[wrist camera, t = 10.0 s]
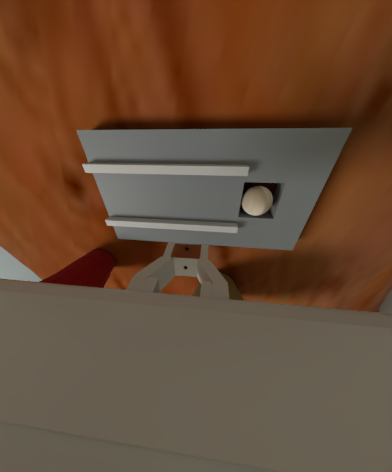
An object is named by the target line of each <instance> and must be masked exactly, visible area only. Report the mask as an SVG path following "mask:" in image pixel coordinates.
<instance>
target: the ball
mask: <svg viewBox="0 0 392 472" xmlns="http://www.w3.org/2000/svg"><path fill="white" fill-rule="evenodd" d="M272 202H273V196H272V194H271V192H270V191H269V190H268V189H267V188H266V187H263V186H254V187H251V188H249V189H248V190H247V191H246V192H245V193H244V195H243V197H242V207H243V209H244V210H245V212H247V213H248V214H250V215H254V216H257V215H262V214H264V213H266V212H267V211H268V210H269V209H270V207H271V206H272Z"/></svg>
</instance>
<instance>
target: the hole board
mask: <svg viewBox="0 0 392 472" xmlns="http://www.w3.org/2000/svg"><path fill="white" fill-rule="evenodd" d="M351 130H352V128H262V129H150V130H76V131H77V133H78V136H79V139H80V141H81V144H82V146H83V149H84V152H85V154H86V157H87V159H88V162H89V163H85V164H82V165H83V168H84V170H85V173H93V175H94V178H95V180H96V183H97V185H98V188H99V191H100V193H101V196H102V198H103V201H104V204H105V206H106V209H107V211H108V214H109V217H108V218H107V219H106V220H105V221H106V224H107V226H113V227H114V230H115V232H116V235H117V237H118V239H129V240H144V241H159V242H174V243H189V244H208V245H219V246H234V247H249V248H264V249H279V250H293V248H294V246H295V244H296V242H297V240H298V238H299V236H300V234H301V232H302V230H303V228H304V226H305V224H306V222H307V220H308V218H309V216H310V214H311V212H312V210H313V208H314V206H315V203H316V201H317V199H318V197H319V195H320V193H321V191H322V189H323V187H324V185H325V183H326V181H327V179H328V177H329V175H330V173H331V171H332V169H333V167H334V165H335V163H336V161H337V159H338V157H339V155H340V152H341V150H342V148H343V146H344V144H345V142H346V140H347V138H348V136H349V134H350V132H351ZM244 182H256V183H277V186H276V189H275V192H274V195H273V202H272V206H271V207H270V209H269V211H267V212H266V213H264V214H262V215H257V216H254V215H250V214H248V213H247V212H245V210H239V209H240V204H241V198H242V193H243V187H244Z"/></svg>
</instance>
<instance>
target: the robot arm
mask: <svg viewBox="0 0 392 472" xmlns="http://www.w3.org/2000/svg"><path fill="white" fill-rule="evenodd" d="M175 275H177V276H191V277H197V278H198V280H199V282H200V283H201V290H200V297H198V296H187V295H176V294H165V293H161V290H162V289H163V288H164V287H165V286H166V285H167V284H168V283H169V282H170V281H171V279H172V278H173V277H174V276H175ZM0 472H392V314H389V313H378V312H366V311H355V310H343V309H332V308H321V307H310V306H299V305H287V304H276V303H265V302H254V301H243V300H232V299H229V291H228V282H227V281H226V280H225V279H224V277H223V276H222V275H221V274H220V272H219V271H218V270H217V269H216V267H215V266H214V265H213V264H212V262H211V261H210V260H208V244H202V245H201V244H187V243H174V242H169V243H168V245H167V247H166V250H165V252H164V255H163V257H160V258H158V259H157V260H155V261H154V262H152V263H151V264H149V265H148V266H146V267H145V268H144V269H142V270H141V271H139V272H138V273H136V274H135V275H134V276H133V278H132V280H131V282H130V283H129V285H128V287H127V289H126V290H120V289H109V288H98V287H87V286H75V285H64V284H53V283H42V282H30V281H18V280H8V279H0Z"/></svg>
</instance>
